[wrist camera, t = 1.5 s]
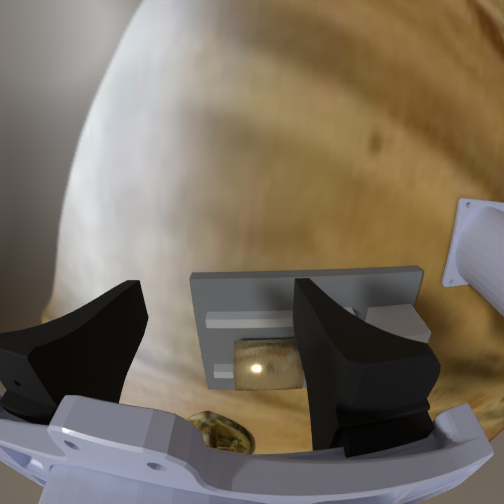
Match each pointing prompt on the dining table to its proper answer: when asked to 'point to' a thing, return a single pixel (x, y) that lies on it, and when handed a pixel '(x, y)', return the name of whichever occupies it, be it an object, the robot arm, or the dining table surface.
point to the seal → (221, 432)
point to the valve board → (281, 308)
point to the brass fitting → (267, 365)
